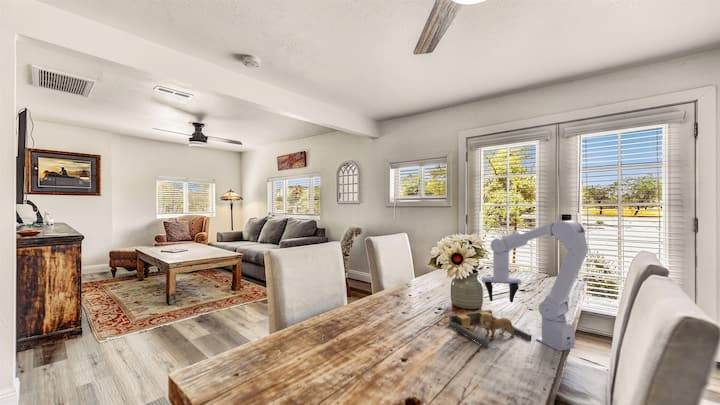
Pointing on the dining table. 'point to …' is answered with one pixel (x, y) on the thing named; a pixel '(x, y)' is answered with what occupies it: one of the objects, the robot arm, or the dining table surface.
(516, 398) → the dining table surface
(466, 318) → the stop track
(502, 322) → the lion figurine
